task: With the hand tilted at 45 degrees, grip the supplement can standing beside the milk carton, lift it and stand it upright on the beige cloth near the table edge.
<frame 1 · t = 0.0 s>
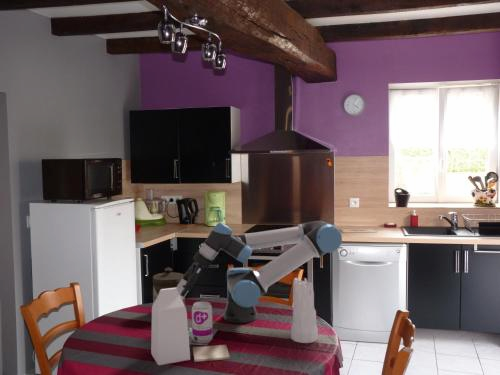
hand: (176, 297, 221), 15 cm above the table, tool tilted 35°, fingers open, 13 cm apart
beige cloth: (210, 354, 199), on the table
milk: (170, 357, 197), on the table
wooden container: (169, 314, 247), on the table
supplement can: (202, 340, 213), on the table
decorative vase: (304, 338, 214), on the table
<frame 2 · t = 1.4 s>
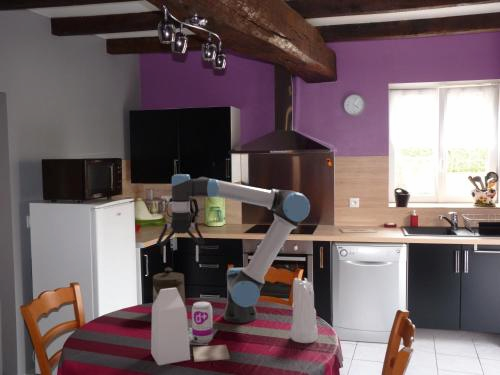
hand: (181, 261, 220), 30 cm above the table, tool pointing down, fingers open, 13 cm apart
nothing on the table moved.
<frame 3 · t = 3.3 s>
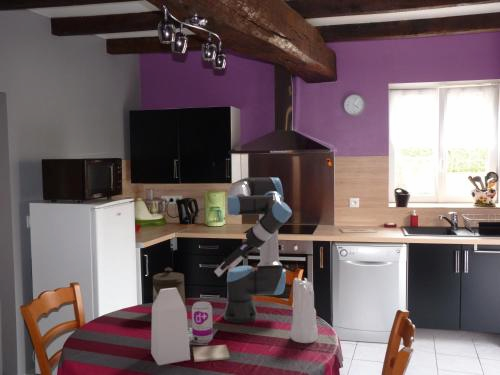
hand: (224, 270, 207), 30 cm above the table, tool tilted 45°, fingers open, 13 cm apart
nothing on the table moved.
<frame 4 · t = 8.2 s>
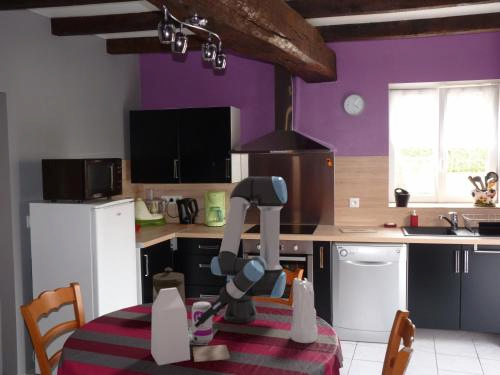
hand: (196, 326, 213), 5 cm above the table, tool tilted 45°, fingers closed on supplement can, 8 cm apart
supplement can: (202, 340, 213), on the table, touching gripper
everything else where it was.
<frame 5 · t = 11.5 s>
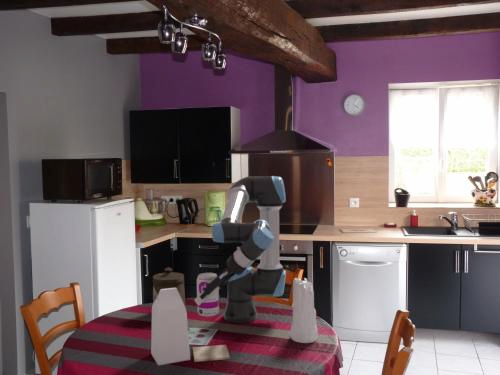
hand: (202, 299, 200), 20 cm above the table, tool tilted 45°, fingers closed on supplement can, 8 cm apart
supplement can: (208, 314, 200), point 15 cm above the table, touching gripper
everything else where it was.
when the fingers open (7 cm above the table, at t = 14.6 s): supplement can drops 1 cm, resting on beige cloth.
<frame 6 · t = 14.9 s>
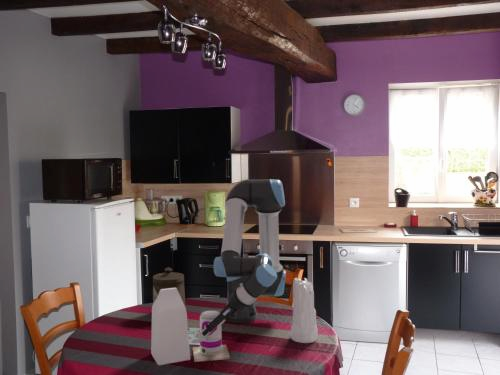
hand: (205, 333, 199), 8 cm above the table, tool tilted 45°, fingers open, 11 cm apart
supplement can: (210, 352, 199), point 1 cm above the table, touching beige cloth
everything else where it was.
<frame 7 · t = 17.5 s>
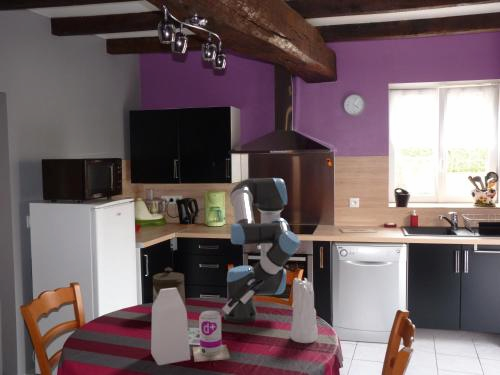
hand: (233, 306, 195), 19 cm above the table, tool tilted 40°, fingers open, 13 cm apart
nothing on the table moved.
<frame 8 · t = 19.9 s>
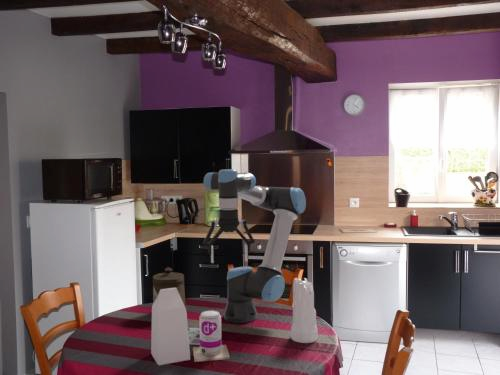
hand: (229, 261, 208), 33 cm above the table, tool pointing down, fingers open, 13 cm apart
nothing on the table moved.
at the end: supplement can inside the target area on the beige cloth (0.0 cm from its centre), point 0.6 cm above the beige cloth's base; supplement can tilted 0°; the gripper is holding nothing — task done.
